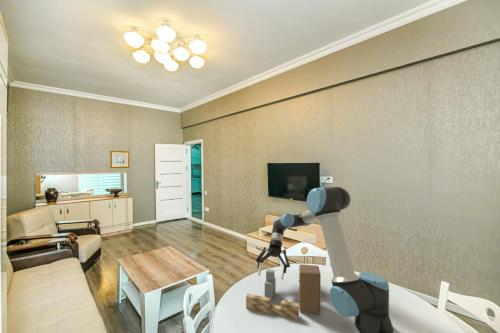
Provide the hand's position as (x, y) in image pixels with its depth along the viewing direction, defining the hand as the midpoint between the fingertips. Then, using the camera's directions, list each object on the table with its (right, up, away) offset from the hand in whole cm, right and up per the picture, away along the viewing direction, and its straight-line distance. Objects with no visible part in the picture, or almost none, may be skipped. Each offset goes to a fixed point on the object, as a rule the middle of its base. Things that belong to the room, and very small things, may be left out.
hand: (270, 276), depth 128 cm
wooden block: (+19, -10, -13) cm, 25 cm away
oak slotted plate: (-1, -9, -16) cm, 19 cm away
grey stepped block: (0, -9, -3) cm, 10 cm away
